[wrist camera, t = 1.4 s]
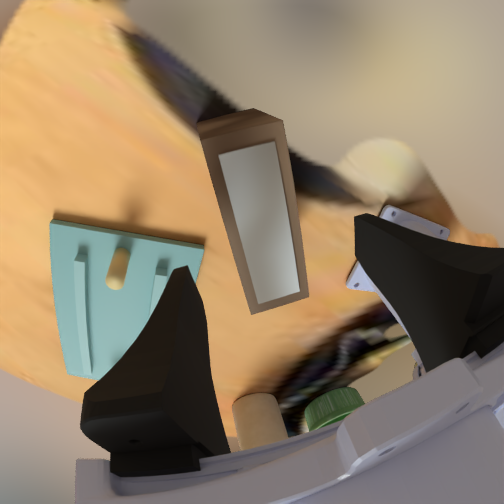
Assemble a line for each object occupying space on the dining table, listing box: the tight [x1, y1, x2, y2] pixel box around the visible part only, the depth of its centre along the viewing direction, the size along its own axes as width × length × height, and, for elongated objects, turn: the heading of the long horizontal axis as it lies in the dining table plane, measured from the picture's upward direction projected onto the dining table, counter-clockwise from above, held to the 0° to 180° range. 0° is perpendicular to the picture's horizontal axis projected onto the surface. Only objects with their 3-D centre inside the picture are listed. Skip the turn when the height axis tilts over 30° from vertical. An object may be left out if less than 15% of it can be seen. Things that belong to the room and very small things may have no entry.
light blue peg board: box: [50, 219, 204, 380], centre depth 21 cm, size 11×17×4 cm, turn 162°
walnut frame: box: [197, 108, 309, 315], centre depth 17 cm, size 4×10×6 cm, turn 12°
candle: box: [232, 393, 288, 451], centre depth 29 cm, size 6×6×10 cm
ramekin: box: [305, 387, 365, 432], centre depth 36 cm, size 9×9×4 cm
